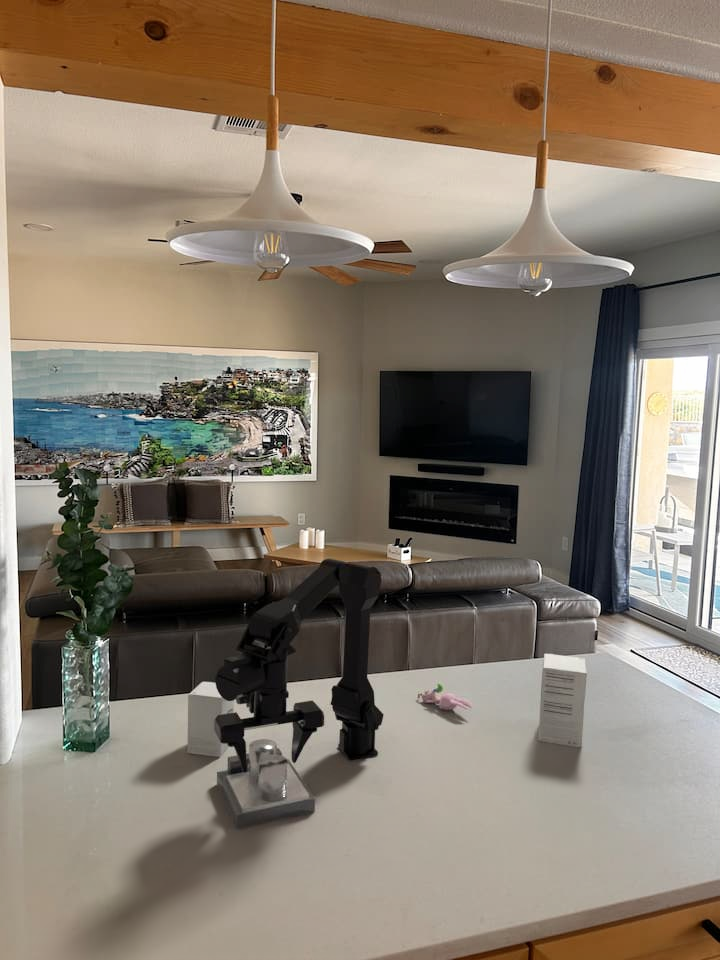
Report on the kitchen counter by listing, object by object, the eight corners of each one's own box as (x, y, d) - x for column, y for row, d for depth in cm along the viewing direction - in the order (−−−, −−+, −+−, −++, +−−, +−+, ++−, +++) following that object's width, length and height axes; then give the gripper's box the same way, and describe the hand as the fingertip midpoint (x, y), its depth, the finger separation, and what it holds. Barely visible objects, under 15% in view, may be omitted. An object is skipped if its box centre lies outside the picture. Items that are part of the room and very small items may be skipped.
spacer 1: (279, 780, 131) (280, 749, 130) (252, 786, 129) (253, 754, 128) (271, 767, 135) (272, 737, 134) (245, 772, 133) (246, 741, 132)
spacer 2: (290, 798, 125) (290, 765, 124) (262, 804, 123) (262, 771, 122) (281, 783, 130) (282, 752, 129) (254, 789, 128) (254, 757, 127)
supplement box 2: (539, 722, 165) (543, 652, 163) (581, 729, 163) (586, 657, 161) (537, 741, 156) (542, 666, 154) (582, 748, 153) (587, 672, 151)
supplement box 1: (220, 758, 144) (221, 698, 143) (186, 753, 146) (186, 693, 144) (234, 741, 152) (235, 684, 150) (201, 737, 153) (202, 680, 152)
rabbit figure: (413, 707, 174) (461, 719, 163) (411, 683, 174) (459, 692, 163) (430, 700, 179) (478, 711, 168) (428, 676, 179) (476, 686, 168)
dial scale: (288, 770, 140) (288, 746, 140) (314, 811, 127) (315, 785, 126) (216, 784, 135) (217, 758, 134) (236, 828, 121) (237, 800, 121)
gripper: (304, 660, 137) (303, 737, 139) (207, 672, 129) (206, 754, 131) (326, 681, 127) (324, 765, 129) (221, 697, 119) (221, 785, 121)
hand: (269, 766), depth 128 cm, fingers open, 9 cm apart
